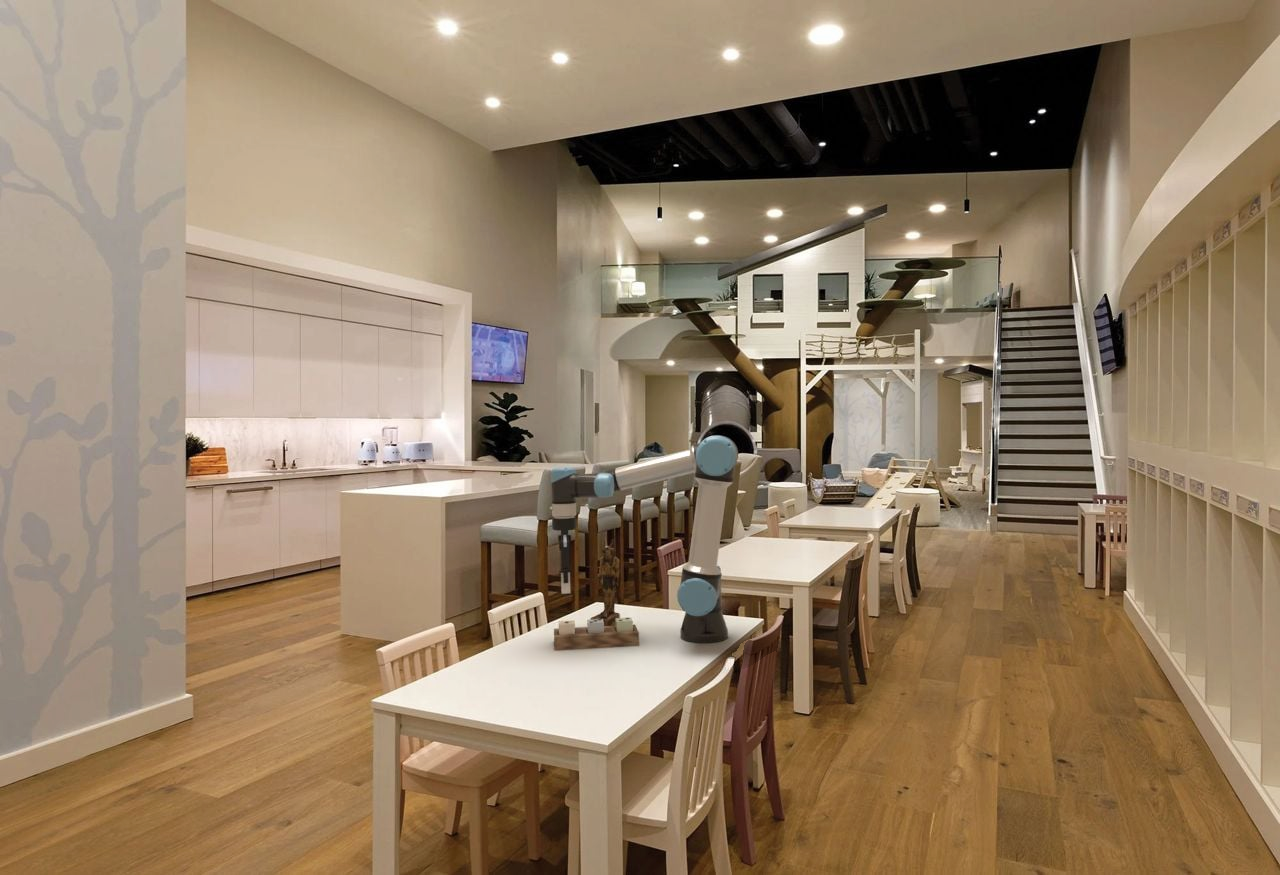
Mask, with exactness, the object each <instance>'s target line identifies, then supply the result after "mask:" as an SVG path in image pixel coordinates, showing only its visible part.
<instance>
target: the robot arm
mask: <svg viewBox="0 0 1280 875" xmlns="http://www.w3.org/2000/svg"><path fill="white" fill-rule="evenodd" d="M738 449H739V448H738V447H737V444H736V443H735V442H734V441H733V440H732V439H731V438H730V437H727V436H724V435H711V436H708V437H706V438H704V439H703V440H702V441H701V442H700V443H697V444H692V445H691V447H690V449H686V450H682V451H678V452H674V453H670V454H665V455H663V456H659V457H653V458H651V459H650V458H649V459H645V460H643V461H639V462H635V463H630V464H626V465H623V466H618V467H616V468H611V469H606V470H602V471H599V472H598V471H597V472H595V473H577V472H576V469H575V468H574V467H567V466H566V467H555V468H553V469H552V470H551V473H550V474H551V475H550V479H551V481H550V488H551V490H550V491H551V506H550V507H549V510H551V516H552V518H551V519H552V520H551V524H552V525H551V529H552V530H553V531H557V532H558V531H560V535H557V537H558V538H557V539H558V545H559V547H558V548H559V551H560V569H561V570H559V571H558V572H559V574H560V584H561V590H560V591H561V595H562V594H565V595H567V594H571V570H572V566H571V564H570V551H571V542H572V535H571V534H569V531H574V530H576V529H577V518H576V516H577V501H576V500H577V499H579V498H581V499H582V498H585V499H587V498H589V499H590V498H592V499H593V498H595V499H597V498H598V499H605V498H611V497H612V496H613V495H614V493H616V492H620V491H625V490H628V489H632V488H637V487H640V486H644V485H649V484H652V483H656V482H658V483H659V482H660V481H665V480H669V479H674V478H677V477H681V476H686V475H690V474H694V479H695V480H696V482H697V483H698V488H697V495H696V504H695V510H694V516H693V517H694V519H693V523H692V524H693V527H692V533H691V539H690V540H691V541H690V546H689V547H690V548H689V554H688V561H687V562H686V563H685V564H684V565H683V566H682V571H681V578H680V585H679V586H678V589H677V593H676V594H677V595H676V596H677V597H676V598H677V602H678V605H679V607H680V608H681V609H682V611H684V612H685V614H684V617H683V619H682V625H681V628H680V639H681V640H684V641H686V642H690V643H691V642H692V643H717V642H720V641H721V642H722V641H725V640H727V639H728V637H729V630H728V627H727V623H726V620H725V617H724V614H723V610H722V609H723V607H722V606H723V605H722V604H723V603H722V599H723V598H722V576H723V575H722V571H721V570H722V569H721V567H720V566H719V565H718V559H719V558H718V557H719V551H720V542H721V536H722V528H723V521H724V514H725V505H726V498H727V491H728V488H729V487H730V486H731V485H733V484H734V477H735V470H736V464H737V462H738V459H739V450H738Z"/></svg>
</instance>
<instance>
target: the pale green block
mask: <svg viewBox="0 0 1280 875" xmlns="http://www.w3.org/2000/svg"><path fill="white" fill-rule="evenodd" d="M615 621H616V632H623V631H633V625H634V621H633V619H632V617H620V618H615Z"/></svg>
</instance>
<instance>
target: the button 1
mask: <svg viewBox="0 0 1280 875" xmlns="http://www.w3.org/2000/svg"><path fill="white" fill-rule="evenodd" d="M558 628H559V635H566V634H575V628H576V622H575V620H558Z"/></svg>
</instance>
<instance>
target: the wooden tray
mask: <svg viewBox="0 0 1280 875" xmlns="http://www.w3.org/2000/svg"><path fill="white" fill-rule="evenodd" d="M553 644H554V645H553V646H554V649H553V650H554V651H564V650H565V651H567V649H569V650H584V649H585V650H587V649H601V648H603V649H605V648H606V649H607V648H622V647H624V648H625V647H635V646H636V647H637V646H639V647H640V632H639V630H638V628H637V626H636V624H633V631H623V632H616V625H615V626H604V633H587V626H584V627H583V626H582V627H581V626H579V627H575V634H566V635H559V627H558V628H553Z"/></svg>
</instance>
